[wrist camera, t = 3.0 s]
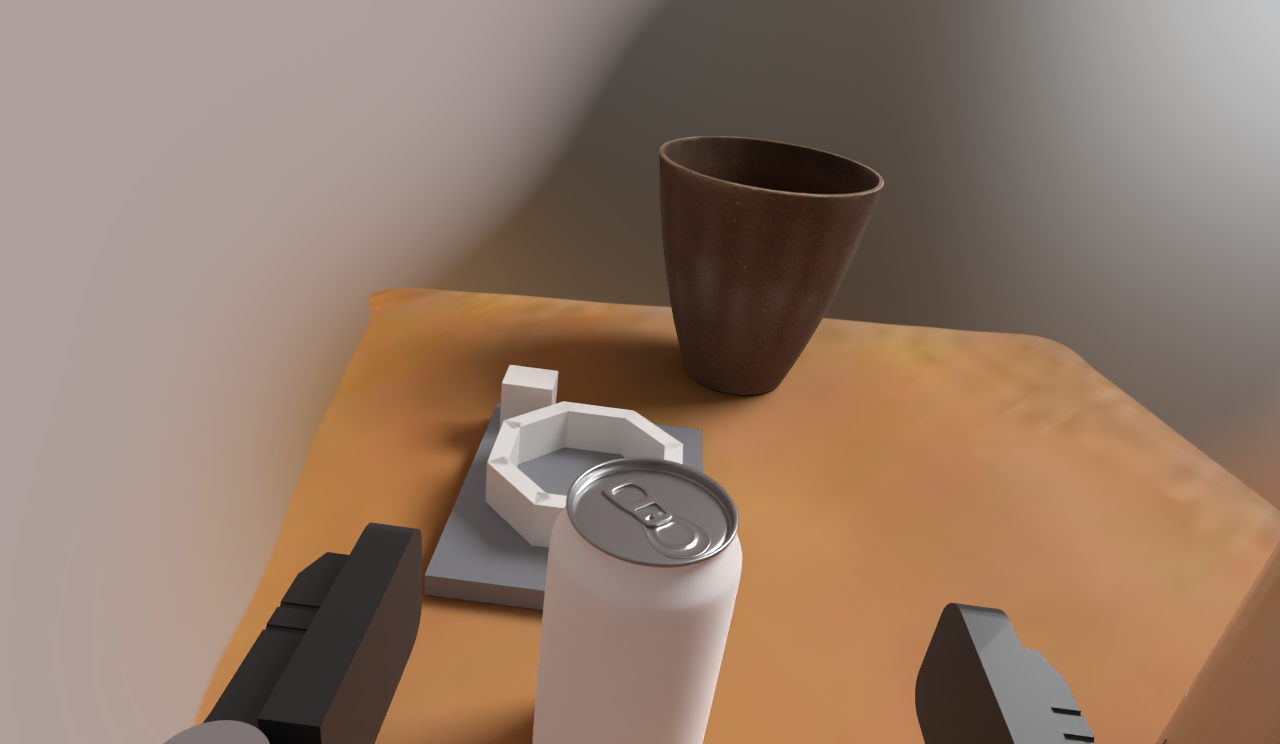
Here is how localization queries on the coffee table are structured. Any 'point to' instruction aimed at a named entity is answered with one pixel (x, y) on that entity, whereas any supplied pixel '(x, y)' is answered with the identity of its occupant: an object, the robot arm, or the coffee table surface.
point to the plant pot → (756, 251)
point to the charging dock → (499, 548)
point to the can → (636, 605)
